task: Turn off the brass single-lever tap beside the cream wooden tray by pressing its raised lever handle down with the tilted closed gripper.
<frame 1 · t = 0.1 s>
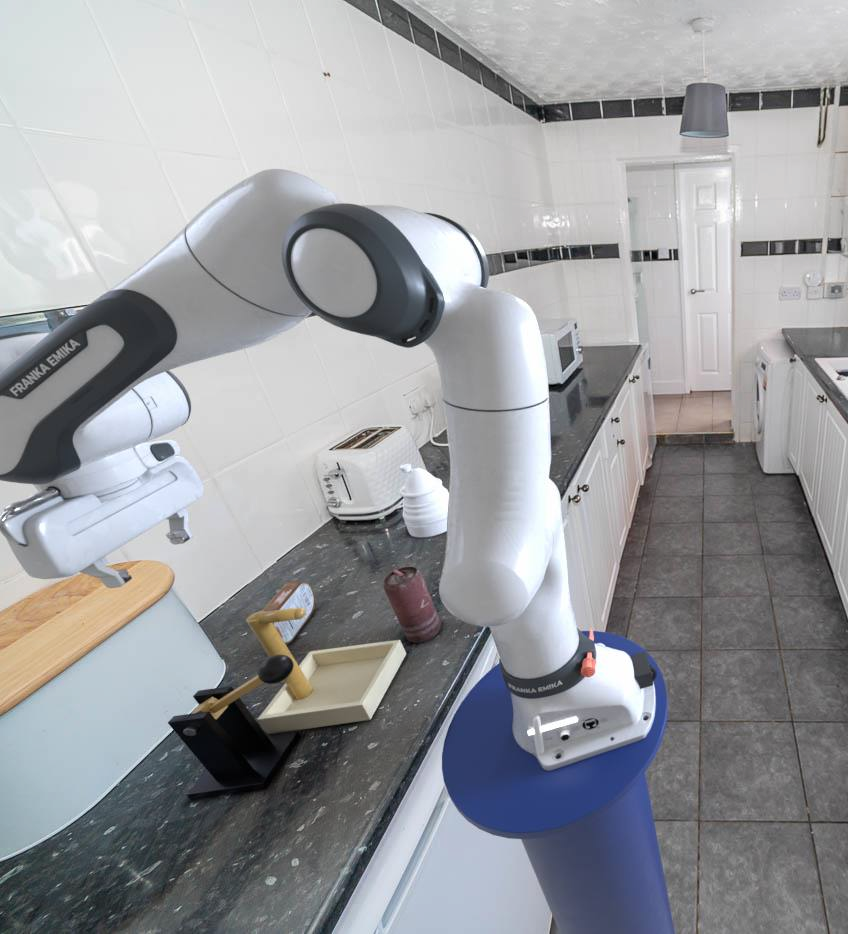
hand: (154, 561, 65), 32 cm above the worktop, tool pointing down, fingers open, 8 cm apart
spout: (305, 696, 82), resting on cream wooden tray
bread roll: (487, 474, 157), on the worktop
tap lever: (242, 690, 65), point 15 cm above the worktop, hinge at 28.0°
cream wooden tray: (342, 690, 83), on the worktop
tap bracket: (249, 766, 72), on the worktop
tin: (298, 629, 98), on the worktop
honey pot: (435, 524, 131), on the worktop
can: (424, 632, 94), on the worktop
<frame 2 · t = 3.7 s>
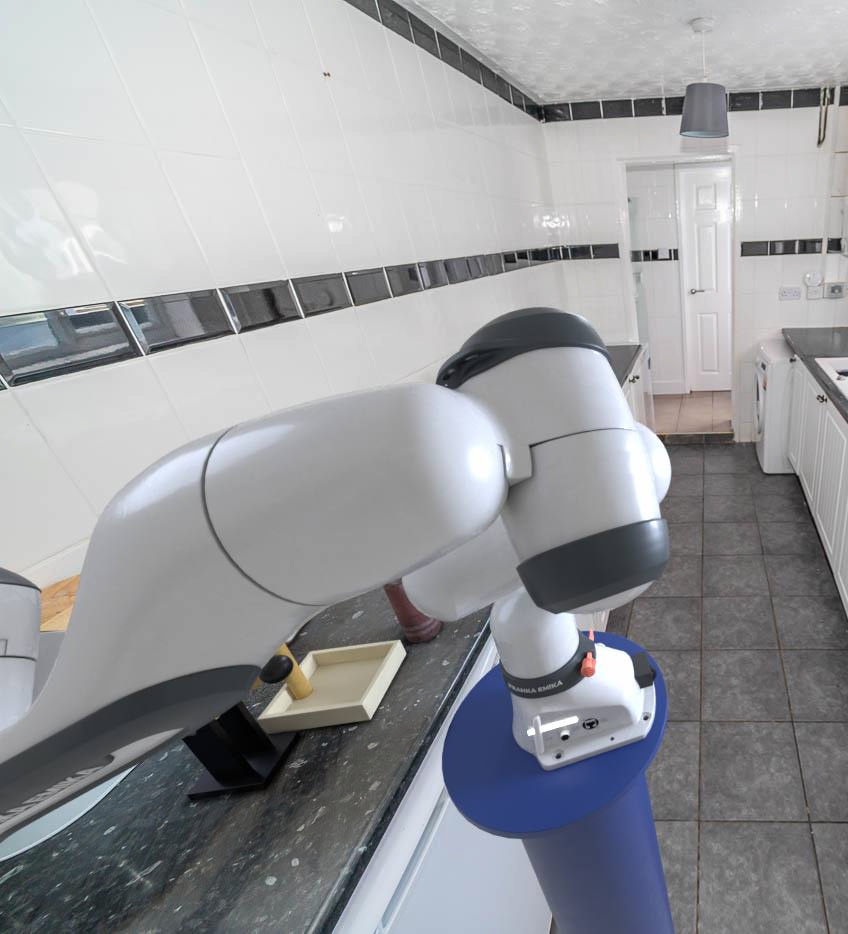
hand: (133, 677, 48), 31 cm above the worktop, tool tilted 45°, fingers closed
nothing on the worktop moved.
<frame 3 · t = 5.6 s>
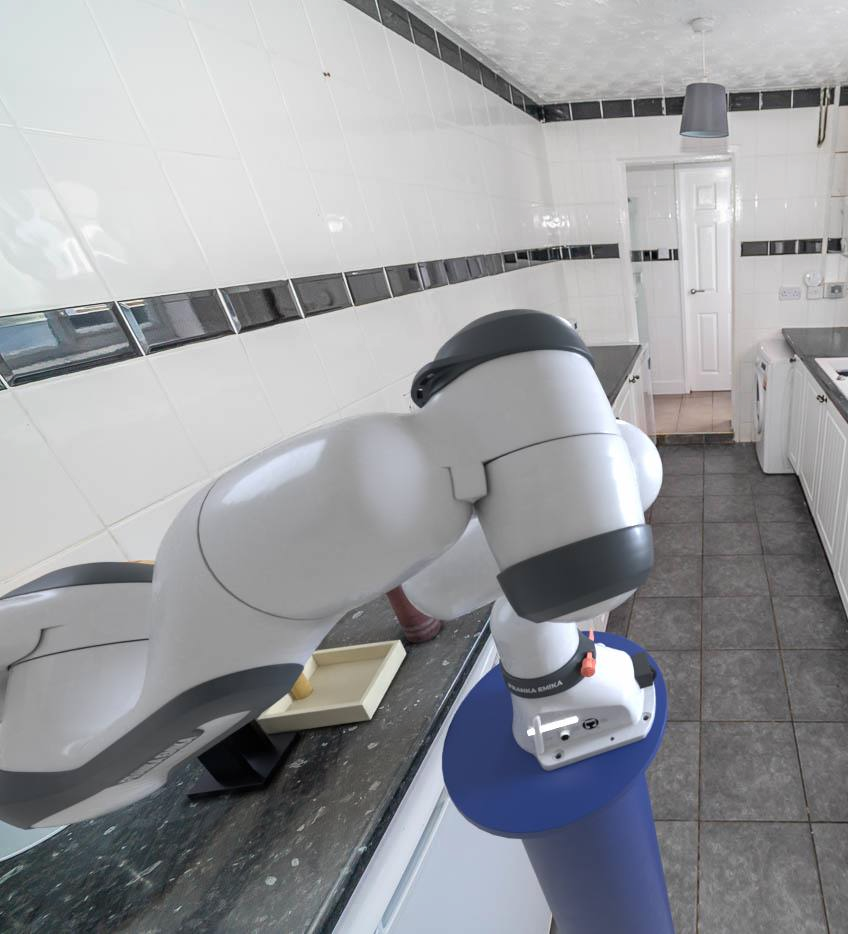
hand: (234, 654, 59), 24 cm above the worktop, tool tilted 45°, fingers closed
nothing on the worktop moved.
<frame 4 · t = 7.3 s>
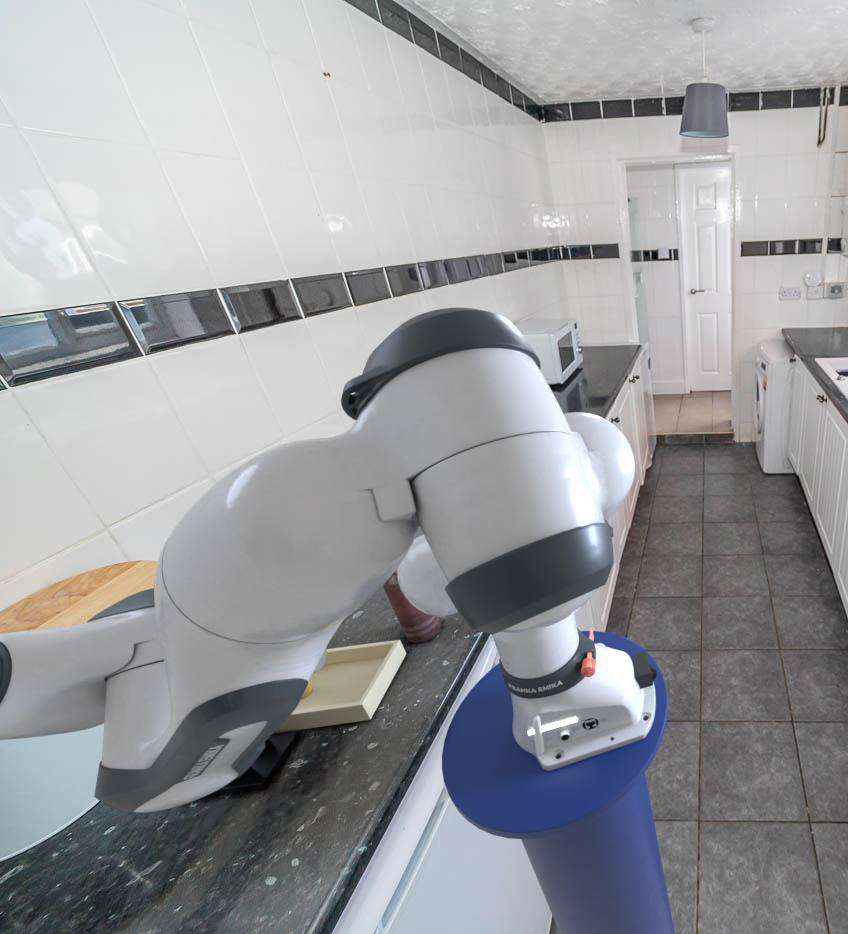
hand: (274, 663, 64), 19 cm above the worktop, tool tilted 45°, fingers closed
tap lever: (248, 694, 66), point 14 cm above the worktop, hinge at 19.9°, touching gripper
everything else where it was.
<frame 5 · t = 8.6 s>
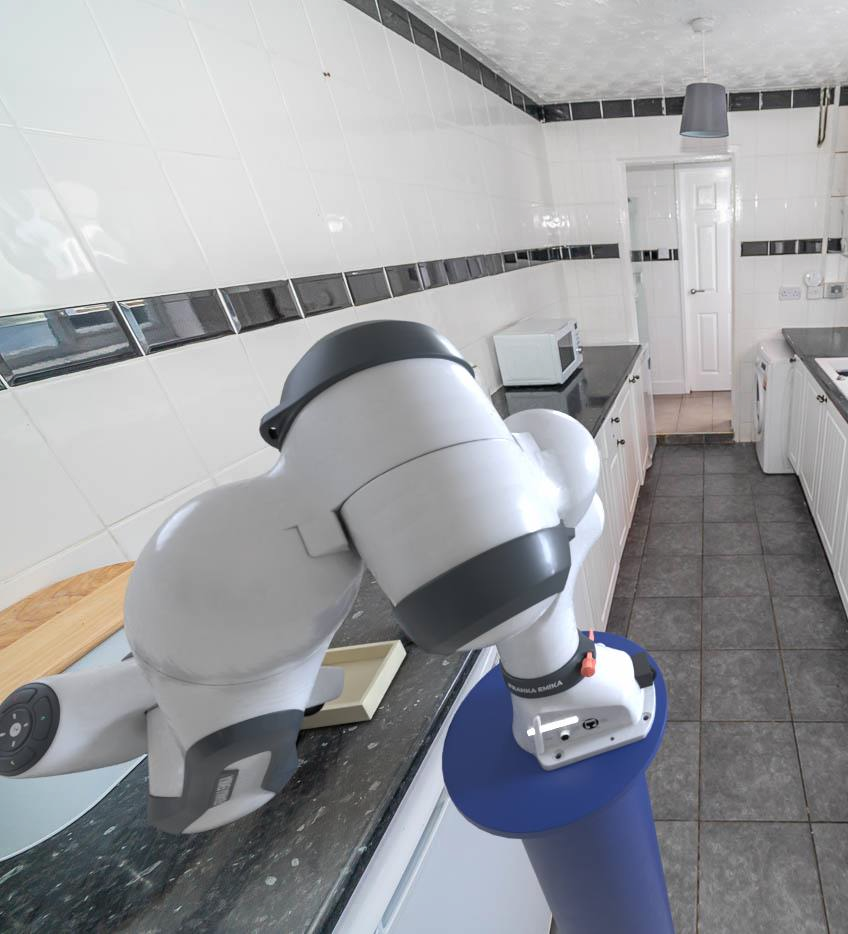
hand: (293, 688, 67), 14 cm above the worktop, tool tilted 45°, fingers closed
tap lever: (260, 707, 67), point 12 cm above the worktop, hinge at -3.5°, touching gripper
everything else where it was.
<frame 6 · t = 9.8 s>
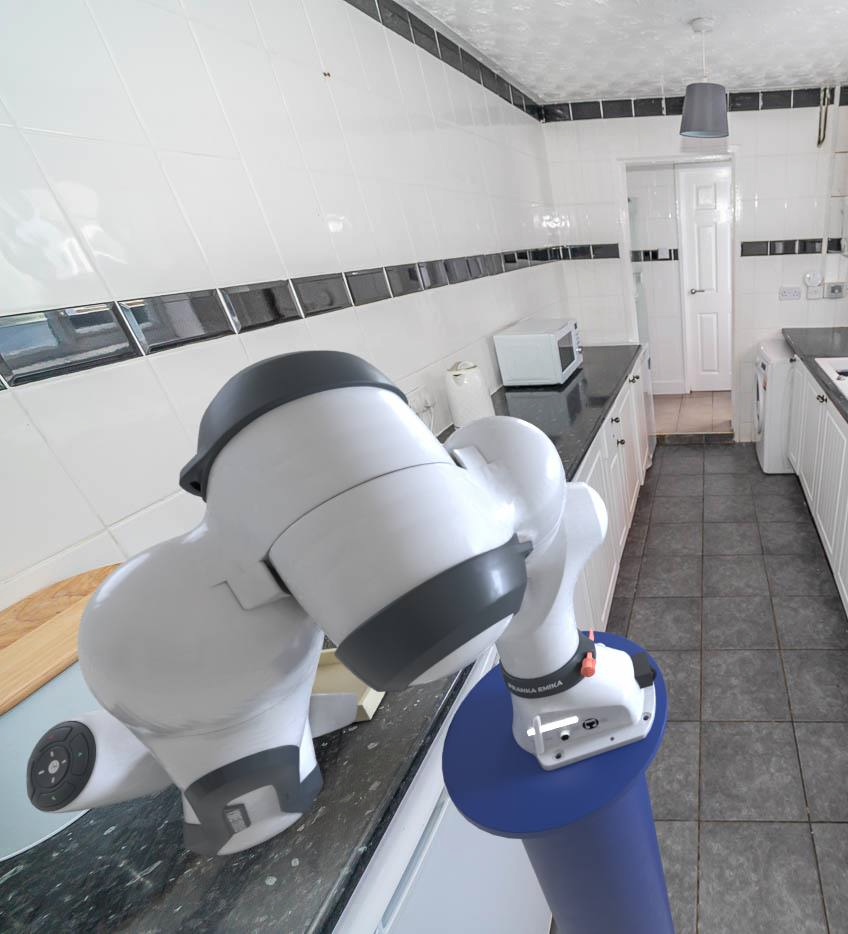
hand: (307, 712, 69), 9 cm above the worktop, tool tilted 45°, fingers closed, pressing on tap lever
tap lever: (264, 719, 68), point 9 cm above the worktop, hinge at -25.5°, touching gripper
everything else where it was.
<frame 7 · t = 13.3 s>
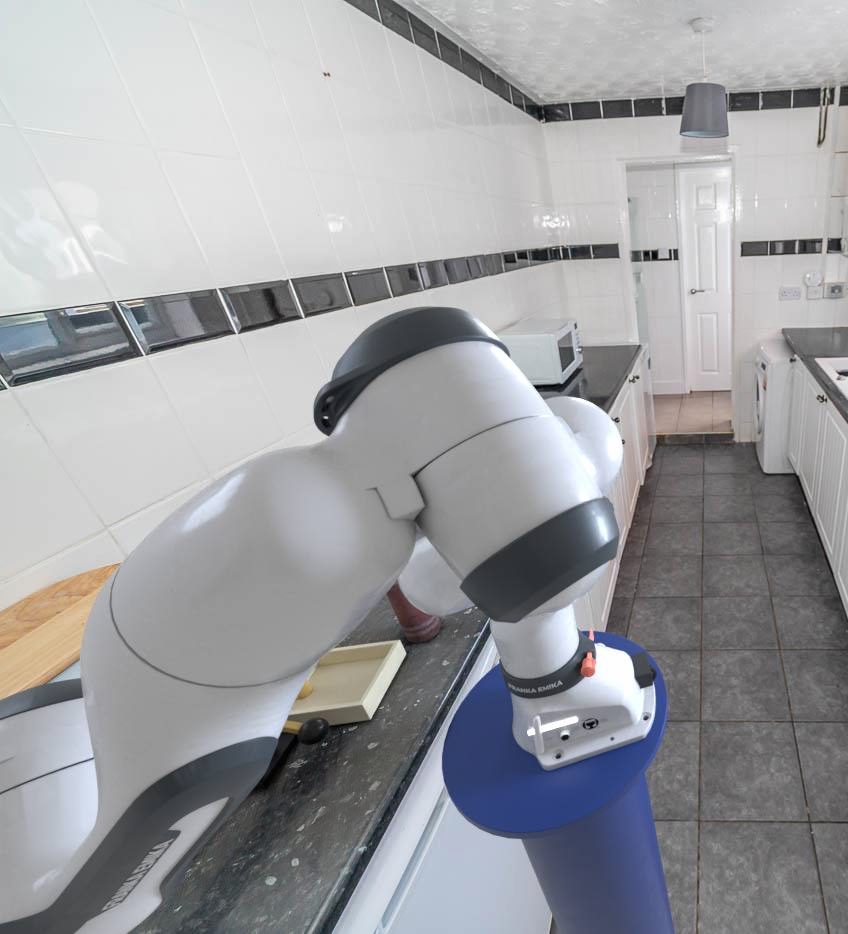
hand: (211, 761, 55), 17 cm above the worktop, tool tilted 45°, fingers closed
tap lever: (263, 722, 68), point 9 cm above the worktop, hinge at -30.2°
everything else where it was.
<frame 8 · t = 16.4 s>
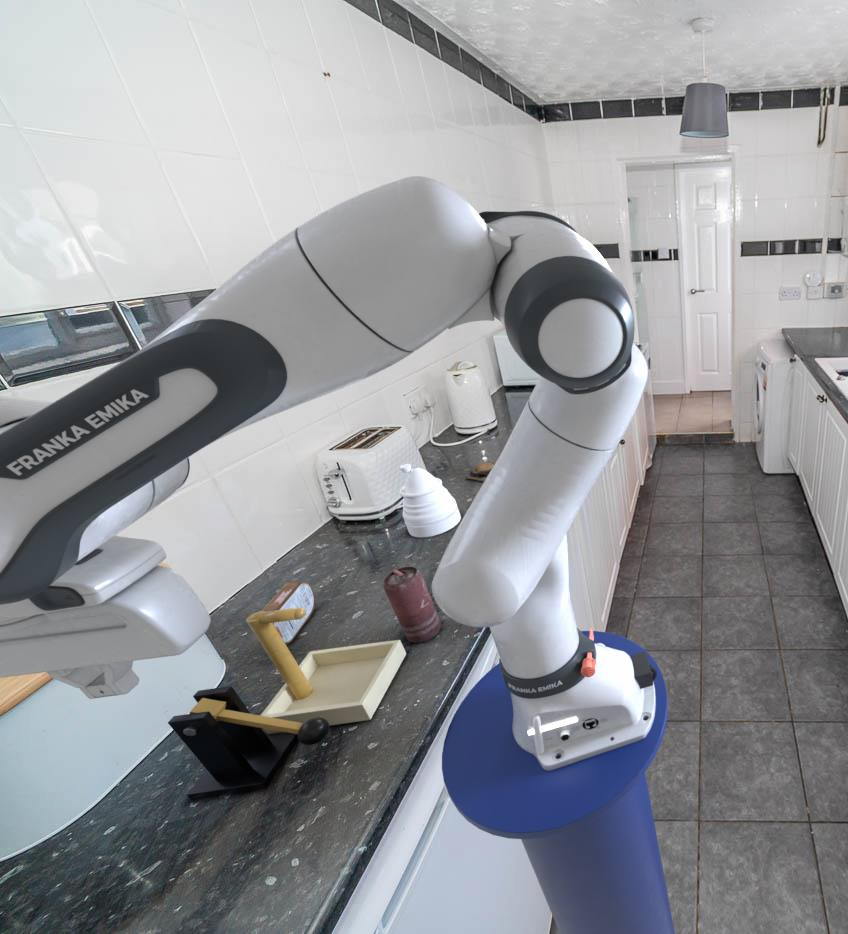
hand: (116, 690, 46), 31 cm above the worktop, tool pointing down, fingers closed
nothing on the worktop moved.
at the end: tap lever at -30° (first picture: +28°); can moved 0.2 cm from its start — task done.
